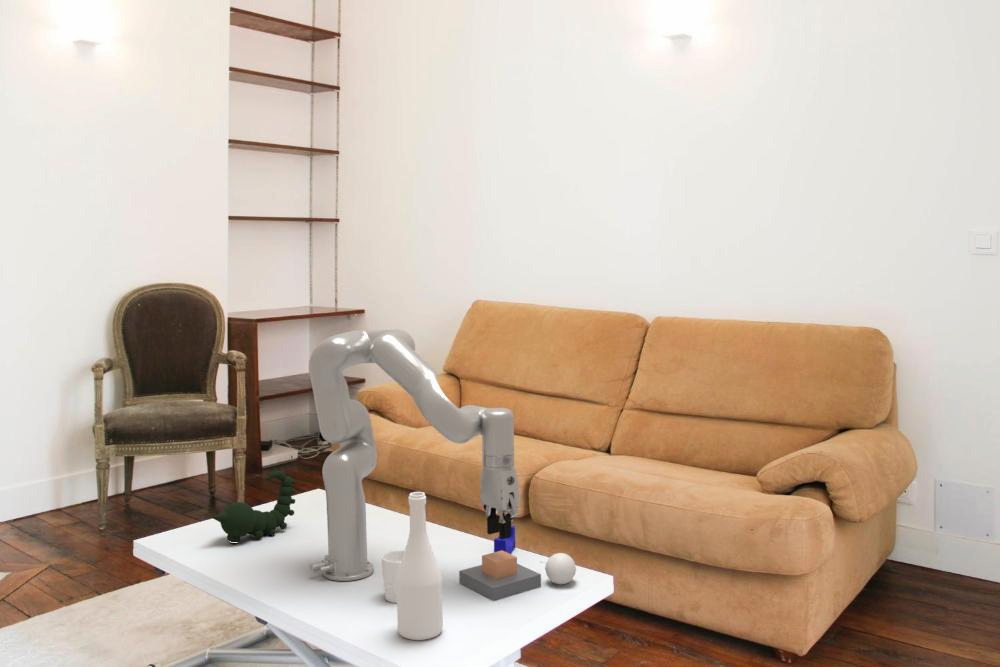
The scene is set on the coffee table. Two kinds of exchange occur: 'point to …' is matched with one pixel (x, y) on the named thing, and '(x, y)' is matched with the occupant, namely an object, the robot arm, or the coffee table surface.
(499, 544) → the cable clip
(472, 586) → the flat gray square plate
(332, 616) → the coffee table surface
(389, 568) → the white cup
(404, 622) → the wine bottle
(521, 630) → the coffee table surface
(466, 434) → the robot arm
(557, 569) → the white piece
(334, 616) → the coffee table surface
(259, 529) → the toy figurine
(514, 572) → the tan block
